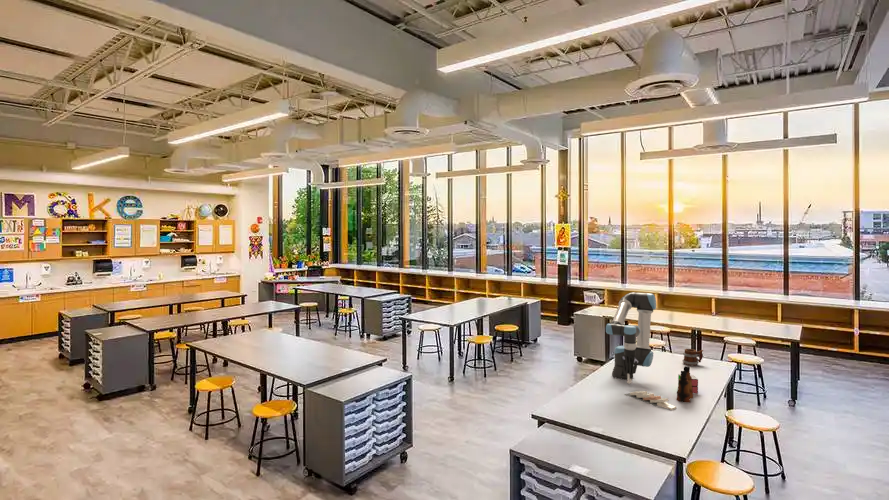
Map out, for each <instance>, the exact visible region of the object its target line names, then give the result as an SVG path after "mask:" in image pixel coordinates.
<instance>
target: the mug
mask: <svg viewBox="0 0 889 500" xmlns="http://www.w3.org/2000/svg"><path fill="white" fill-rule="evenodd" d="M703 352H704V350H703V349H701V350H699V351H697V350H696V349H693V348H685V349H684V352H683V353H682V354H683V356H684V357H683V359H682V363H683V365H686V366H688V367H694V366H695V367H696V366H698V364H699V363H701V362H702V359H703V357H704V355H703V354H704V353H703ZM698 356H699V357H698Z"/></svg>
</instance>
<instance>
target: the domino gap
mask: <svg viewBox="0 0 889 500" xmlns="http://www.w3.org/2000/svg"><path fill="white" fill-rule="evenodd" d="M661 398H662V397H661V395H654V396H653V397H646V398H643V400H658V399H661Z"/></svg>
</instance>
